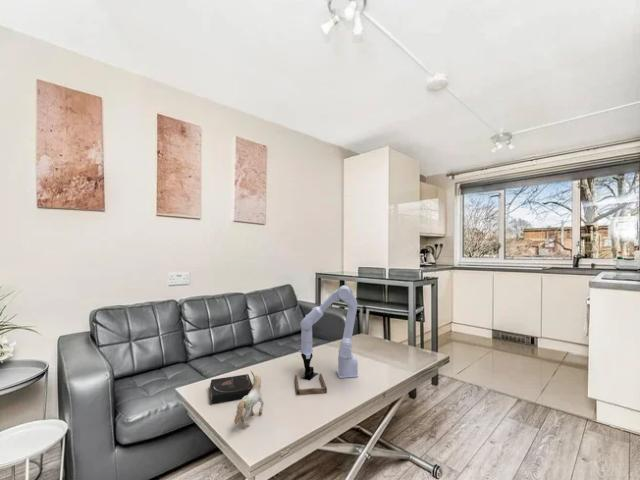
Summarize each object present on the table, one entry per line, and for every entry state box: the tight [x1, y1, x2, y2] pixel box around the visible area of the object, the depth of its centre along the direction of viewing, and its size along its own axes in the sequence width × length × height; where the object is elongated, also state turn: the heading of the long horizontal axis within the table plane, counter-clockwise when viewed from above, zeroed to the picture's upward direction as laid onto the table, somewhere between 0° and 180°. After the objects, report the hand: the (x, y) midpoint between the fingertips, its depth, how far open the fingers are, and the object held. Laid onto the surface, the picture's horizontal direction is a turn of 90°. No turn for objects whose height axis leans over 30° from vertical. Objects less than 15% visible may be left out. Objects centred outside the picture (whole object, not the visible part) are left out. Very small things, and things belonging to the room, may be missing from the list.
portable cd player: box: [209, 373, 253, 405], centre depth 131 cm, size 16×17×4 cm
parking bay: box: [294, 373, 328, 396], centre depth 137 cm, size 13×16×2 cm
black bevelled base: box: [300, 365, 320, 382], centre depth 148 cm, size 12×7×5 cm, turn 155°
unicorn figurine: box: [233, 370, 265, 428], centre depth 111 cm, size 7×20×13 cm, turn 176°
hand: (306, 368), depth 152 cm, fingers closed
